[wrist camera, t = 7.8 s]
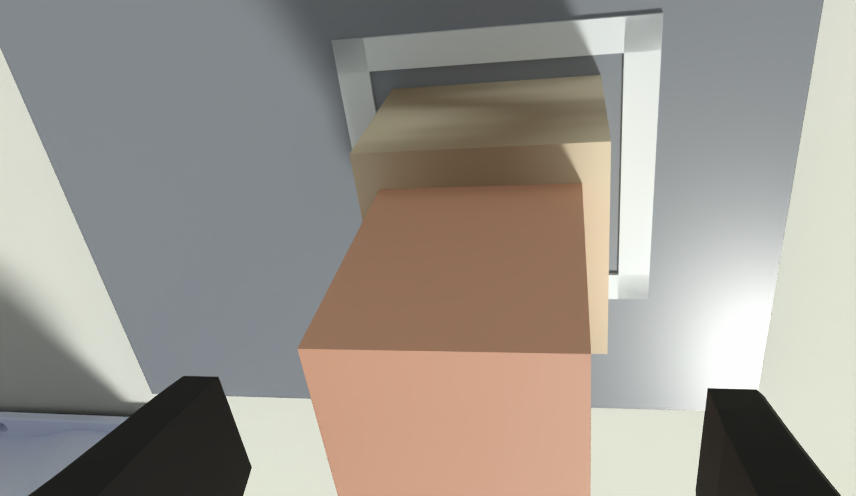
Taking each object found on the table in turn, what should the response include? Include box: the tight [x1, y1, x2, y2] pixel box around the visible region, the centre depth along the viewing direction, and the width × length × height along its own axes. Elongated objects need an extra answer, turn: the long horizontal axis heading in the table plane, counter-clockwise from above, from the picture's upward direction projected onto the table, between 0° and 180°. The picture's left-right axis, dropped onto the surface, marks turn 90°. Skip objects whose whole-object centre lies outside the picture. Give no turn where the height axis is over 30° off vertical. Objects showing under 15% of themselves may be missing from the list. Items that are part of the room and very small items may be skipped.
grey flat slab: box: [0, 0, 824, 411], centre depth 18 cm, size 20×16×1 cm
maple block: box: [350, 75, 611, 354], centre depth 16 cm, size 5×5×4 cm
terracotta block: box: [297, 183, 591, 496], centre depth 12 cm, size 4×4×5 cm
